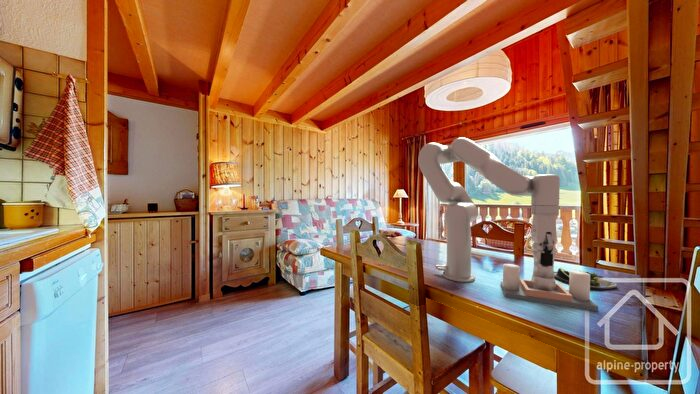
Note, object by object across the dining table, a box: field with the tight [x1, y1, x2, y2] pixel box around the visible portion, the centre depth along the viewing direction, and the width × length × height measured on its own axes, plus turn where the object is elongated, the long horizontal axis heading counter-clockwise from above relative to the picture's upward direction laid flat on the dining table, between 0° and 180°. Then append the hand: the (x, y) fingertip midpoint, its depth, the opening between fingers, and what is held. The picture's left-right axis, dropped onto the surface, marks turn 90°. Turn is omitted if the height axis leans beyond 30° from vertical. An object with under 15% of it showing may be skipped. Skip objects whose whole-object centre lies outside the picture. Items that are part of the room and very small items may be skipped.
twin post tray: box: [500, 263, 599, 312], centre depth 85 cm, size 24×12×10 cm, turn 65°
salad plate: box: [554, 267, 618, 291], centre depth 100 cm, size 19×18×5 cm
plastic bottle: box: [530, 241, 557, 291], centre depth 85 cm, size 6×7×20 cm
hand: (543, 262), depth 85 cm, fingers closed on plastic bottle, 6 cm apart
